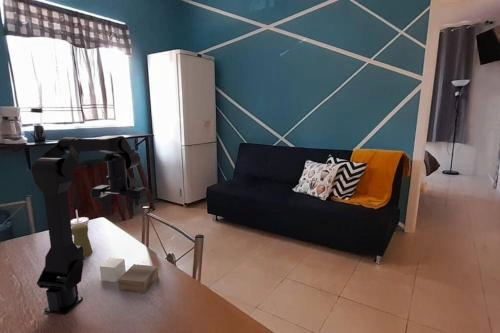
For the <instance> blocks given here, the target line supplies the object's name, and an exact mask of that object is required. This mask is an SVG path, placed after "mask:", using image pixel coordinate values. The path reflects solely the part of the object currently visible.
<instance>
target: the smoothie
mask: <svg viewBox="0 0 500 333" xmlns="http://www.w3.org/2000/svg"><path fill="white" fill-rule="evenodd" d="M78 214H79V213H78V209H75V216H76V218H73V219H70V220H71V228H72V227H74V226H75V225H79V224H85V225H87V226H88V227H89V222H90V219H89V217H87V216H86V217H85V216H83V217H79V215H78ZM87 235H88V236H89V231H88V232H87Z"/></svg>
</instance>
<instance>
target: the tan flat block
mask: <svg viewBox="0 0 500 333" xmlns="http://www.w3.org/2000/svg"><path fill="white" fill-rule="evenodd" d="M158 278H159V268H158V266H157V265H156V266H155V265H148V264H146V265H145V264H135V263H134V264H132V265H131V266H130V267H129V269H127V270H126V272H125V273H124V274H123V275H122V276H121V277H120V278H119V279H118V281H117V282H118V288H119V292H128V293H137V294H138V293H139V294H146V293H147V292H148V291H149V290H150V288H151V287H152V286H153V284H154V283H155V282H156V281H157V279H158Z"/></svg>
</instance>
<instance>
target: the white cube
mask: <svg viewBox="0 0 500 333" xmlns="http://www.w3.org/2000/svg"><path fill="white" fill-rule="evenodd" d="M99 271H100V280H101V281H102V282H110V283H112V282H113V283H117V282H119V281H118V279H119V278H120V277H121V276H122V275H123V274H124V273H125V272H126V271H127V270H126V261H125V258H119V257H117V258H116V257H109V258H108V259H107V260H105V261H104V262H103V263H101V265H99Z"/></svg>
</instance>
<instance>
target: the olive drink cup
mask: <svg viewBox="0 0 500 333" xmlns="http://www.w3.org/2000/svg"><path fill="white" fill-rule="evenodd" d="M71 229H72V237H73V243H74V244H75V245H76V246H82V247H83V256H84V258H87V257H89V256H90V255H92V254H93V252H94V251H93V248H92V245H91V241H90V239H89V234H88V235H87V232H88V233H89V225H88V226H87V225H85V224H79V225H75V226H74V227H71Z"/></svg>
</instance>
